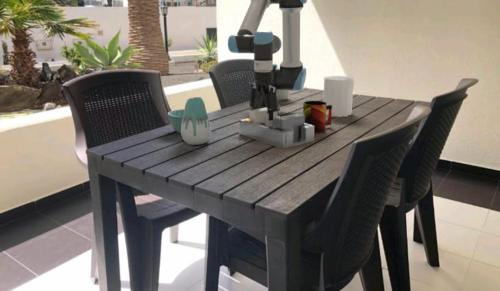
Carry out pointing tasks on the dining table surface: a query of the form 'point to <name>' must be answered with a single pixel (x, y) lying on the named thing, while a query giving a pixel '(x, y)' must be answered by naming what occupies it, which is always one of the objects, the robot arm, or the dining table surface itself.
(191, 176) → the dining table surface
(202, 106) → the vase
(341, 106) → the container
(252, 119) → the block
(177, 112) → the bowl
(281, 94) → the planter
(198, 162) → the dining table surface
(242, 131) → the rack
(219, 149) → the dining table surface
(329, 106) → the mug
